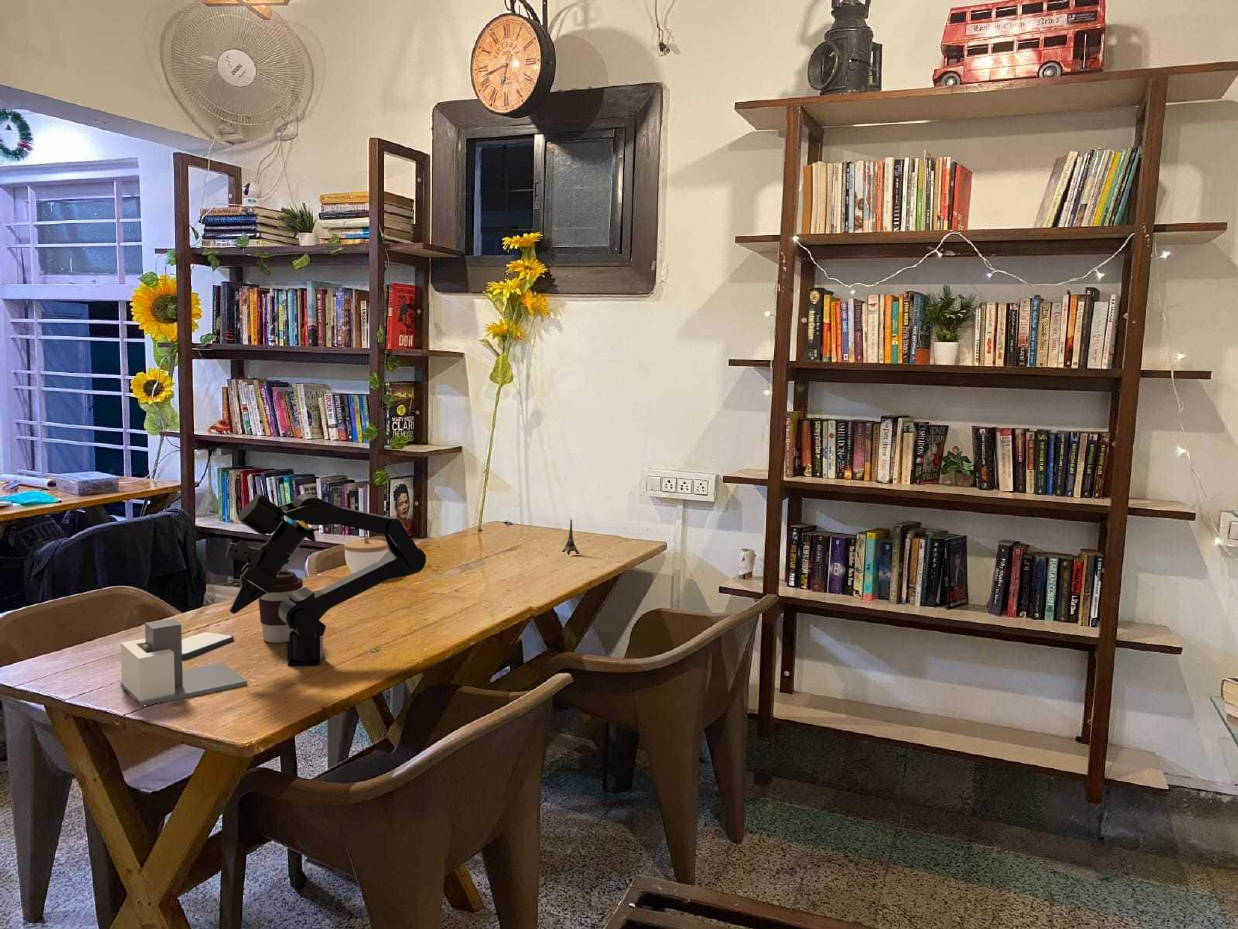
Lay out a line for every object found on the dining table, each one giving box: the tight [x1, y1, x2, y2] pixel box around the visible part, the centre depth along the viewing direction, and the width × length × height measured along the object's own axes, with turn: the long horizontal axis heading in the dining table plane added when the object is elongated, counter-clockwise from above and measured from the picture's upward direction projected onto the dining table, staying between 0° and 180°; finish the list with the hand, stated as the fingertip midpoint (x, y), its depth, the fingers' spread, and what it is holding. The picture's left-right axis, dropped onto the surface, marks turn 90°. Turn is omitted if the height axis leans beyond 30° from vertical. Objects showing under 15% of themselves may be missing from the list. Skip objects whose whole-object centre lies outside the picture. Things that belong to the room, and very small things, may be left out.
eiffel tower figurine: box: [562, 518, 580, 555], centre depth 312 cm, size 15×10×13 cm
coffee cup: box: [258, 570, 304, 644], centre depth 213 cm, size 10×10×15 cm
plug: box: [143, 618, 183, 687], centre depth 179 cm, size 6×5×12 cm
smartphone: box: [182, 631, 235, 661], centre depth 206 cm, size 9×2×16 cm
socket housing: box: [120, 638, 248, 707], centre depth 182 cm, size 19×14×9 cm
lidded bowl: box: [343, 536, 389, 574], centre depth 277 cm, size 13×13×11 cm
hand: (231, 612), depth 189 cm, fingers closed
